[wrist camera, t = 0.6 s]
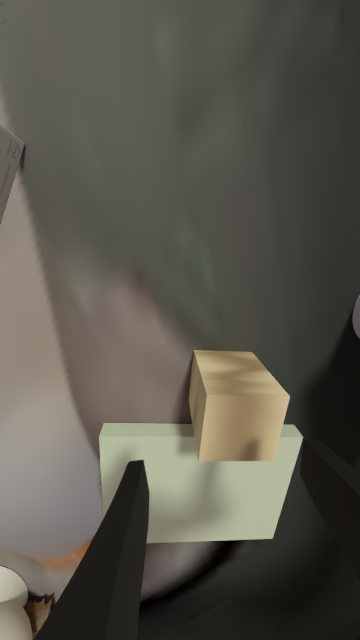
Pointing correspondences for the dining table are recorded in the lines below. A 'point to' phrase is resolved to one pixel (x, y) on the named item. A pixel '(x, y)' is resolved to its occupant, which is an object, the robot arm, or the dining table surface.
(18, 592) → the figurine
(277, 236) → the dining table surface
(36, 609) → the bird sculpture
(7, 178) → the light bulb box
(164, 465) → the green tile
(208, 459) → the maple block
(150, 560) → the dining table surface
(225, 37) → the dining table surface
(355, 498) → the robot arm
